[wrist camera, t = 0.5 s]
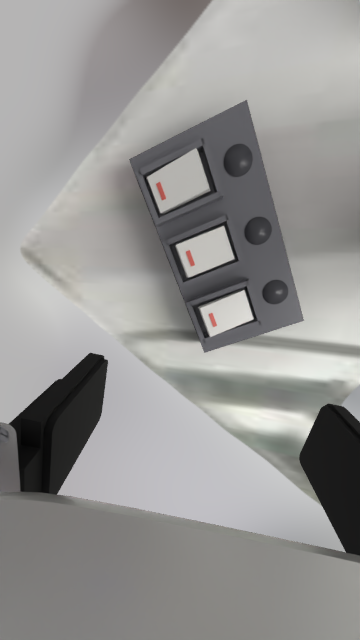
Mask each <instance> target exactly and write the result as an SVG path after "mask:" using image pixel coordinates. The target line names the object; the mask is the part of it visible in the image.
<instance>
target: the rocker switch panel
mask: <svg viewBox="0 0 360 640" xmlns="http://www.w3.org/2000/svg"><path fill="white" fill-rule="evenodd" d="M195 148H196V149H197V151H198V153H199V156H200V159H201V162H202V165H203V169H204V172H205V175H206V178H207V181H208V184H209V187H210V190H211V191H209V192H207V193H205V194H203V195H201V196H199V197H197V198H195V199H193V200H191V201H189V202H187V203H185V204H183V205H181V206H179V207H177V208H175V209H173V210H171V211H169V212H167V213H165V214H161V213H160V211H159V208H158V205H157V203H156V200H155V197H154V195H153V192H152V189H151V187H150V184H149V182H148V179H147V177H148V176H150V175H151V174H153V173H155V172H156V171H158V170H160V169H161V168H163V167H165V166H166V165H168V164H170V163H171V162H173V161H175V160H177V159H178V158H180V157H182V156H183V155H185V154H187V153H188V152H190V151H192V150H193V149H195ZM129 160H130V163H131V165H132V168H133V170H134V173H135V175H136V178H137V181H138V183H139V186H140V188H141V191H142V193H143V196H144V199H145V201H146V204H147V206H148V209H149V211H150V214H151V217H152V219H153V222H154V224H155V227H156V229H157V232H158V235H159V237H160V240H161V242H162V245H163V247H164V250H165V252H166V255H167V258H168V260H169V263H170V265H171V268H172V270H173V273H174V276H175V278H176V281H177V283H178V286H179V288H180V291H181V294H182V296H183V299H184V301H185V304H186V306H187V309H188V312H189V314H190V317H191V319H192V322H193V324H194V327H195V330H196V332H197V335H198V337H199V340H200V342H201V345H202V347H203V350H204V353H205V352H208V351H211V350H214V349H217V348H220V347H224V346H227V345H230V344H233V343H236V342H239V341H242V340H245V339H248V338H251V337H254V336H258V335H261V334H264V333H267V332H270V331H273V330H276V329H279V328H282V327H285V326H289V325H292V324H295V323H298V322H301V321H304V319H303V315H302V311H301V308H300V304H299V300H298V296H297V292H296V288H295V284H294V281H293V277H292V273H291V269H290V265H289V261H288V257H287V254H286V250H285V246H284V242H283V238H282V234H281V230H280V226H279V223H278V219H277V215H276V211H275V207H274V203H273V199H272V196H271V192H270V188H269V184H268V180H267V176H266V172H265V169H264V165H263V161H262V157H261V153H260V149H259V145H258V142H257V138H256V134H255V130H254V126H253V122H252V118H251V114H250V111H249V107H248V103H247V100H245V101H243V102H242V103H240V104H238V105H236V106H234V107H232V108H230V109H228V110H226V111H224V112H222V113H220V114H218V115H216V116H214V117H212V118H210V119H208V120H206V121H204V122H202V123H200V124H198V125H196V126H194V127H192V128H190V129H188V130H186V131H184V132H182V133H180V134H178V135H176V136H174V137H172V138H170V139H169V140H167V141H165V142H163V143H161V144H159V145H157V146H155V147H153V148H151V149H149V150H147V151H145V152H143V153H141V154H139V155H137V156H135V157H133V158H131V159H129ZM222 226H224V227H225V230H226V234H227V237H228V240H229V243H230V246H231V249H232V252H233V256H234V259H233V260H231V261H228V262H226V263H224V264H221V265H219V266H216V267H214V268H211V269H209V270H206V271H204V272H201V273H199V274H196V275H194V276H192V277H189V278H187V276H186V274H185V271H184V268H183V266H182V263H181V260H180V258H179V255H178V252H177V250H176V247H175V246H176V245H177V244H179V243H182V242H184V241H187V240H189V239H192V238H194V237H197V236H199V235H202V234H204V233H207V232H209V231H212V230H214V229H217V228H219V227H222ZM240 289H241V290H245V293H246V297H247V300H248V303H249V306H250V309H251V312H252V316H253V320H250V321H248V322H246V323H243V324H241V325H238V326H236V327H234V328H231V329H229V330H226V331H224V332H222V333H219V334H217V335H215V336H212V337H210V336H209V335H208V332H207V329H206V327H205V324H204V322H203V319H202V316H201V314H200V311H199V308H198V307H199V306H202V305H204V304H206V303H209V302H211V301H214V300H216V299H219V298H221V297H223V296H226V295H228V294H231V293H233V292H236V291H238V290H240Z"/></svg>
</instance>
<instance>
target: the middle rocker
mask: <svg viewBox="0 0 360 640" xmlns="http://www.w3.org/2000/svg"><path fill="white" fill-rule="evenodd" d="M175 247H176V250H177V252H178V255H179V258H180V260H181V263H182V266H183V268H184V271H185V274H186V276H187V278H189V277H192V276H194V275H196V274H199V273H201V272H204V271H206V270H209V269H211V268H214V267H216V266H219V265H221V264H224V263H226V262H228V261H231V260H233V259H234V256H233V252H232V249H231V246H230V243H229V240H228V237H227V234H226V230H225V227H224V226H222V227H219V228H217V229H214V230H212V231H209V232H207V233H204V234H202V235H199V236H197V237H194V238H192V239H189V240H187V241H184V242H182V243H179V244H177V245H176V246H175Z"/></svg>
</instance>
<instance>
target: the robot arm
mask: <svg viewBox="0 0 360 640" xmlns="http://www.w3.org/2000/svg"><path fill="white" fill-rule="evenodd" d="M107 364H108V360H105V359H104V356H103V355H98V354H93V353H89V354H88V355H87V356H86V357H85V358H84V359H83V360H82V361H81V362H80V363H79V364H77V365H76V366H75V367H74V368H73V369H72V370H71V371H70V372H69V373H68V374H67V375H66V376H65V377H64V378H63V379H58V380H57V381H55V382H54V383H53V384H52V385H51V386H50V387H49V388H48V389H47V390H46V391H44V392H43V393H42V394H41V395H40V396H39V397H38V398H37V399H36V400H34V401H33V402H32V403H31V404H30V405H29V406H28V407H27V408H26V409H25V410H24V411H23V412H21V413H20V414H19V415H18V416H17V417H16V418H15V419H14V420H13V421H12V422H10V423H9V424H5V423H0V640H360V422H359V421H358V420H357V419H356V418H355V417H354V416H353V415H352V414H351V413H350V412H349V411H348V410H347V409H346V408H344V407H342V406H338V405H333V404H327V405H325V406H323V407H322V408H321V409H320V411H319V414H318V416H317V418H316V420H315V422H314V425H313V427H312V429H311V431H310V433H309V435H308V438H307V440H306V442H305V444H304V446H303V449H302V451H301V453H300V457H299V458H300V463H301V466H302V468H303V470H304V471H305V473H306V475H307V477H308V479H309V481H310V483H311V485H312V487H313V489H314V491H315V493H316V495H317V497H318V499H319V501H320V503H321V505H322V506H323V508H324V510H325V512H326V514H327V516H328V518H329V520H330V522H331V524H332V526H333V527H334V530H335V532H336V534H337V535H338V538H339V539H340V541H341V543H342V545H343V547H344V549H345V551H346V553H345V552H341V551H336V550H332V549H327V548H323V547H318V546H313V545H309V544H304V543H299V542H295V541H289V540H285V539H280V538H276V537H271V536H266V535H262V534H256V533H252V532H247V531H242V530H237V529H233V528H228V527H223V526H219V525H214V524H209V523H204V522H199V521H194V520H189V519H185V518H180V517H175V516H170V515H164V514H160V513H155V512H150V511H145V510H140V509H136V508H131V507H125V506H120V505H114V504H109V503H103V502H98V501H93V500H88V499H82V498H77V497H71V496H63V495H57V493H58V491H59V490H60V488H61V486H62V485H63V483H64V481H65V479H66V478H67V476H68V474H69V472H70V471H71V469H72V467H73V465H74V464H75V462H76V460H77V458H78V456H79V455H80V453H81V451H82V450H83V448H84V446H85V444H86V443H87V441H88V439H89V437H90V435H91V433H92V432H93V430H94V428H95V427H96V425H97V423H98V421H99V419H100V416H101V413H102V405H103V398H104V389H105V381H106V373H107Z"/></svg>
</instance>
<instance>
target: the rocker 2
mask: <svg viewBox="0 0 360 640" xmlns="http://www.w3.org/2000/svg"><path fill="white" fill-rule="evenodd" d="M198 308H199V311H200V314H201V316H202V319H203V322H204V324H205V327H206V329H207V332H208V335H209V336H210V337H212V336H215V335H217V334H219V333H222V332H224V331H226V330H229V329H231V328H234V327H236V326H238V325H241V324H243V323H246V322H248V321H250V320H253V316H252V312H251V309H250V306H249V303H248V300H247V297H246V293H245V290H241V289H240V290H238V291H236V292H233V293H231V294H228V295H226V296H223V297H221V298H219V299H216V300H214V301H211V302H209V303H206V304H204V305H202V306H199V307H198Z"/></svg>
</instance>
